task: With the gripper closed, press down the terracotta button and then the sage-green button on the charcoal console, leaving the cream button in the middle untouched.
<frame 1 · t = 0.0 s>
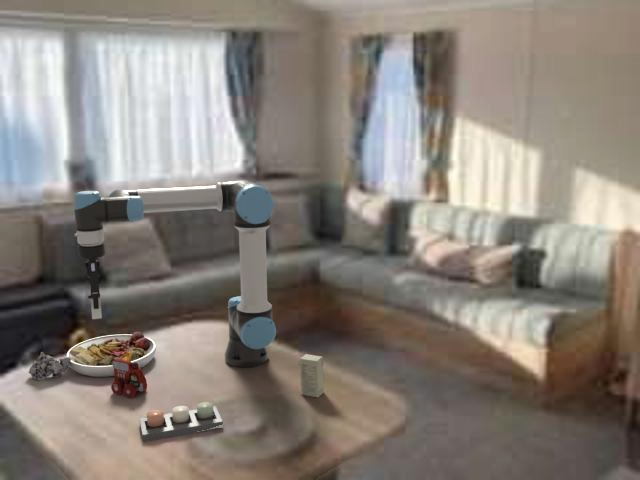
hand: (96, 311, 202), 28 cm above the table, fingers open, 13 cm apart
bowl: (112, 363, 235), on the table
button terracotta: (155, 418, 187), point 4 cm above the table, slide at 0.0 cm
console: (181, 426, 190), on the table
toy fire truck: (130, 392, 212), on the table
skincare box: (312, 394, 210), on the table
mineral specimen: (48, 377, 223), on the table
button cream: (180, 414, 189), point 4 cm above the table, slide at 0.0 cm
button sage: (205, 410, 191), point 4 cm above the table, slide at 0.0 cm
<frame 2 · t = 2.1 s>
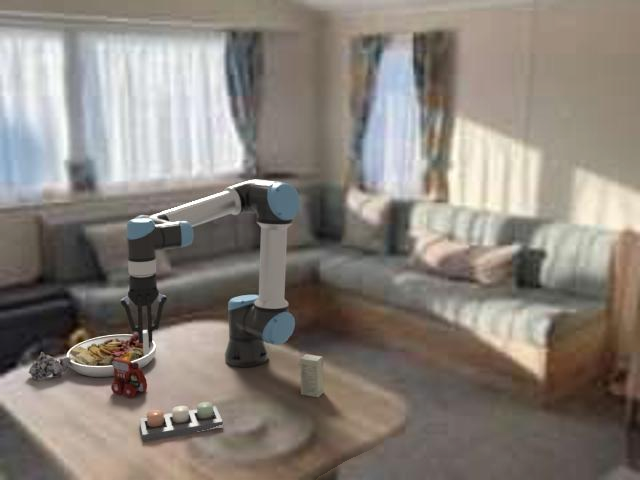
hand: (146, 352, 192), 20 cm above the table, fingers closed
nothing on the table moved.
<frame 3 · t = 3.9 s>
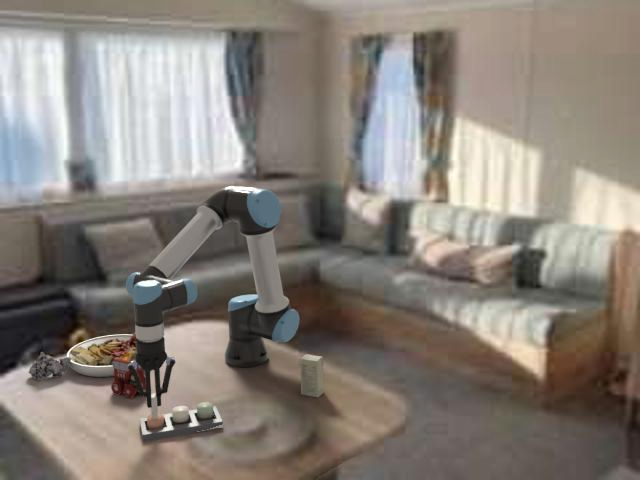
hand: (154, 416, 186), 4 cm above the table, fingers closed
button terracotta: (155, 422, 187), point 3 cm above the table, slide at 1.2 cm, touching gripper
everything else where it was.
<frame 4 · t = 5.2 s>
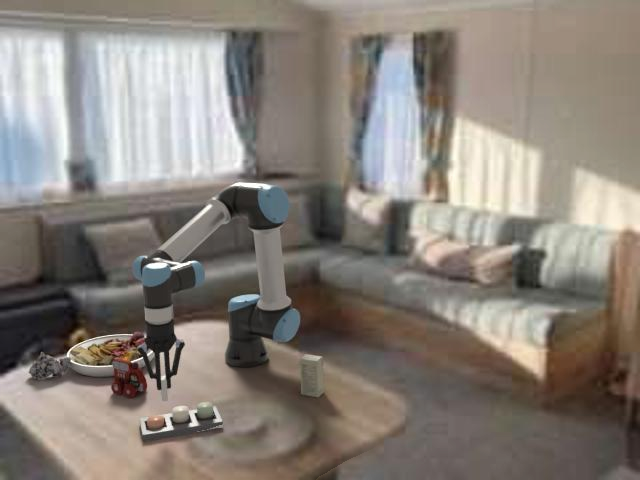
hand: (164, 399, 187), 9 cm above the table, fingers closed
button terracotta: (155, 423, 187), point 2 cm above the table, slide at 1.6 cm
everything else where it was.
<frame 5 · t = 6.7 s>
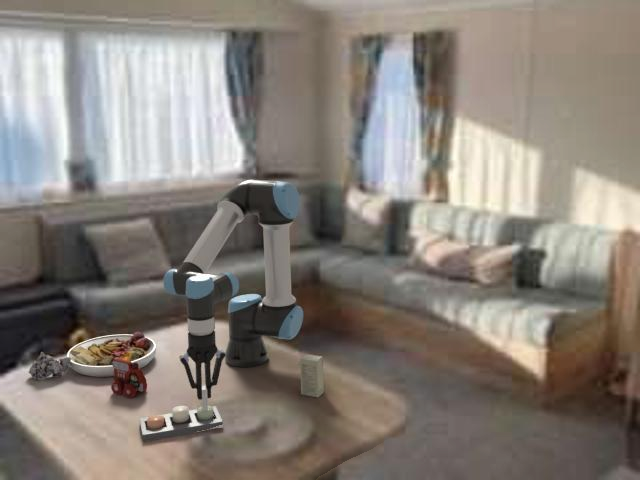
hand: (204, 408, 191), 4 cm above the table, fingers closed
button sage: (205, 413, 192), point 3 cm above the table, slide at 1.1 cm, touching gripper
everything else where it was.
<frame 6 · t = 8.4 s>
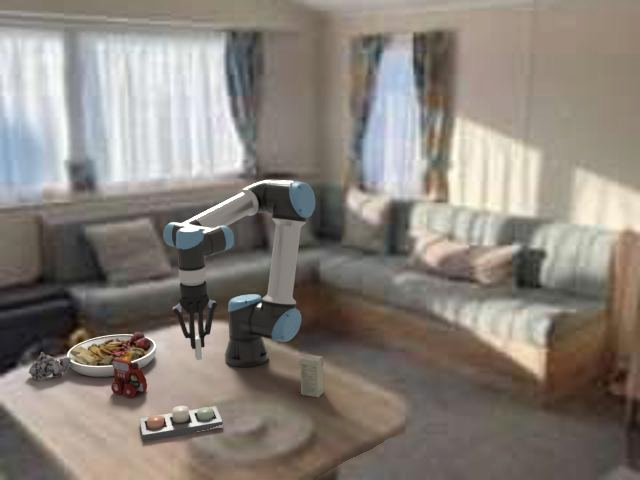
hand: (198, 357, 196), 17 cm above the table, fingers closed
button sage: (205, 415, 192), point 2 cm above the table, slide at 1.6 cm
everything else where it was.
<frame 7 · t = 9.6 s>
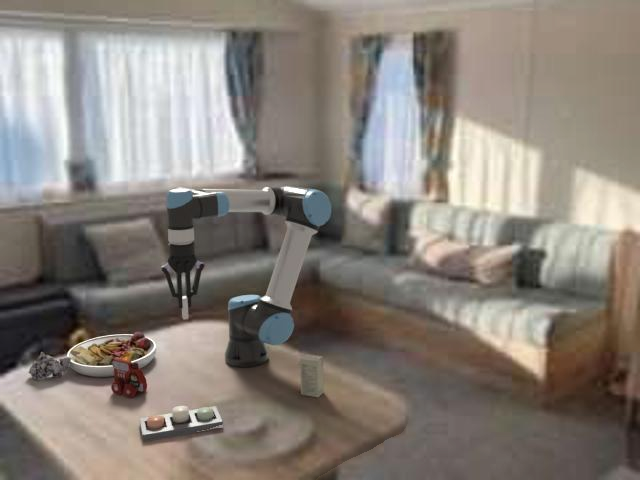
hand: (185, 317, 201), 26 cm above the table, fingers closed
nothing on the table moved.
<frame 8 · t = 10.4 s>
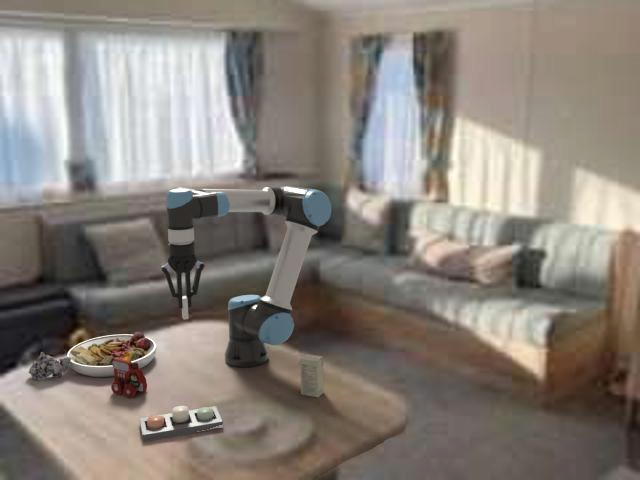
hand: (185, 317, 201), 26 cm above the table, fingers closed
nothing on the table moved.
at the end: button terracotta slide at 1.6 cm; button sage slide at 1.6 cm; button cream slide at 0.0 cm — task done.
